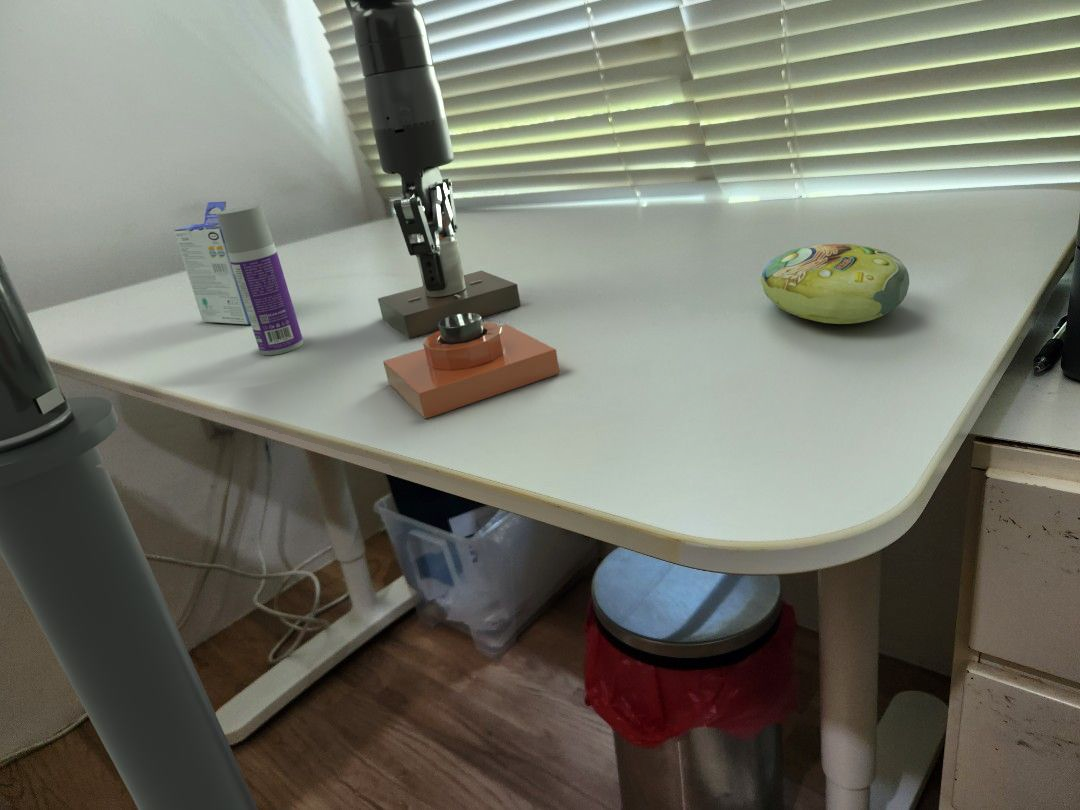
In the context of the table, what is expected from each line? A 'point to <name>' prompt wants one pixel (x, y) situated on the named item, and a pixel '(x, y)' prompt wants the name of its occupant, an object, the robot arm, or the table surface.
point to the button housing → (469, 369)
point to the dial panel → (448, 304)
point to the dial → (448, 268)
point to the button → (461, 328)
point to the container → (260, 279)
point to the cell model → (836, 283)
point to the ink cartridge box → (211, 270)
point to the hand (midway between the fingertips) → (443, 282)
